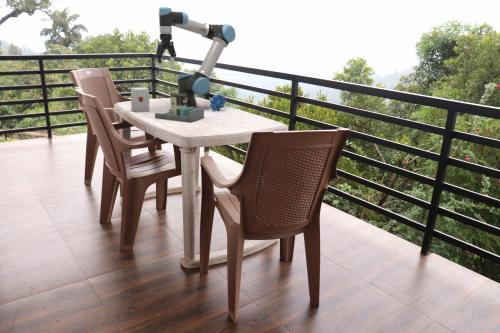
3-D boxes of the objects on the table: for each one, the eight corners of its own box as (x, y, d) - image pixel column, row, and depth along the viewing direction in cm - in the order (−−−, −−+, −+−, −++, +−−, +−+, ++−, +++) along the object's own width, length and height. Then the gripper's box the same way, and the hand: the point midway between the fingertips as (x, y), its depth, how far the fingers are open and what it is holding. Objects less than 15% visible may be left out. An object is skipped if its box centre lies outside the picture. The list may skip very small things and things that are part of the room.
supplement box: (137, 112, 269) (136, 89, 265) (131, 110, 276) (130, 87, 271) (150, 111, 275) (149, 88, 270) (143, 109, 281) (142, 87, 277)
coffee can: (189, 116, 259) (189, 93, 255) (184, 119, 250) (183, 95, 245) (174, 115, 261) (174, 92, 257) (168, 117, 252) (167, 94, 247)
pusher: (180, 119, 248) (180, 109, 246) (191, 115, 260) (191, 106, 258) (182, 119, 247) (182, 110, 245) (193, 116, 259) (193, 106, 257)
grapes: (223, 109, 291) (223, 92, 288) (226, 111, 285) (227, 93, 282) (207, 110, 287) (207, 92, 283) (210, 111, 281) (211, 94, 277)
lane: (155, 118, 252) (154, 107, 250) (170, 114, 267) (169, 103, 265) (190, 122, 244) (190, 111, 242) (204, 117, 259) (204, 107, 257)
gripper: (171, 33, 271) (172, 66, 277) (149, 32, 249) (150, 68, 255) (181, 34, 268) (181, 67, 275) (159, 33, 246) (160, 69, 252)
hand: (166, 68), depth 265 cm, fingers open, 13 cm apart
